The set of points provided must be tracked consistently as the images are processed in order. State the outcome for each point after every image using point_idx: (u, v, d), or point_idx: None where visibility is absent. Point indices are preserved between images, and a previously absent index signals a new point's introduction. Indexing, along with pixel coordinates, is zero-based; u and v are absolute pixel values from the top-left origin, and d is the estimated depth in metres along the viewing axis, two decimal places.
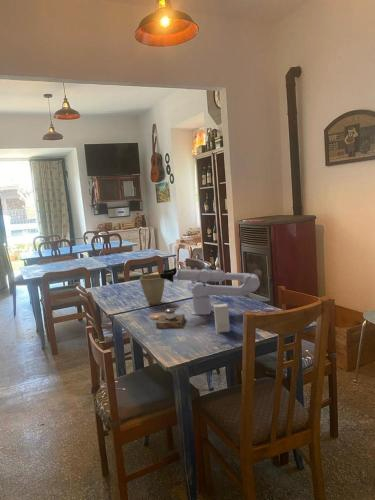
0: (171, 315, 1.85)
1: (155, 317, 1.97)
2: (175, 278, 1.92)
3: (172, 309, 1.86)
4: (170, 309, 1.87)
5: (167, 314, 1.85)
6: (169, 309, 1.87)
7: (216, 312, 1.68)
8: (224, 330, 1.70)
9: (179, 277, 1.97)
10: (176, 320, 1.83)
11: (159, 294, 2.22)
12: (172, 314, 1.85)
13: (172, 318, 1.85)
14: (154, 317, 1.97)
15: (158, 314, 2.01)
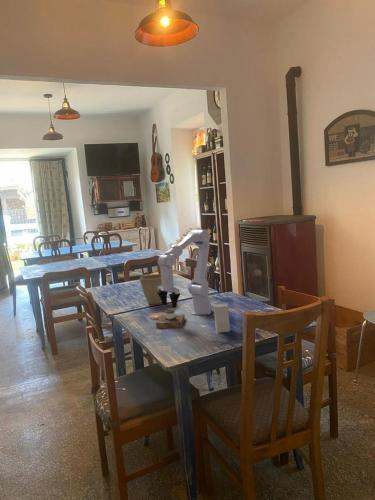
0: (171, 315, 1.85)
1: (155, 317, 1.97)
2: (178, 291, 1.80)
3: (172, 309, 1.86)
4: (170, 309, 1.87)
5: (167, 314, 1.85)
6: (169, 309, 1.87)
7: (216, 312, 1.68)
8: (224, 330, 1.70)
9: (172, 287, 1.83)
10: (176, 320, 1.83)
11: None
12: (172, 314, 1.85)
13: (172, 318, 1.85)
14: (154, 317, 1.97)
15: (158, 314, 2.01)
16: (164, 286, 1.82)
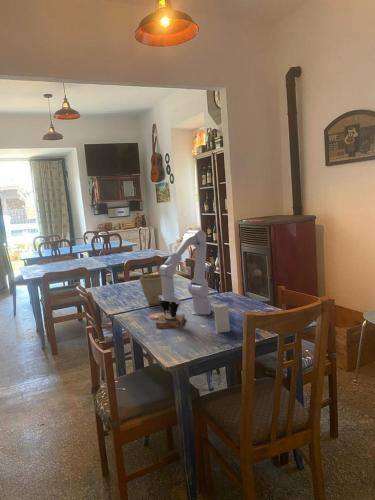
0: None
1: (155, 317, 1.97)
2: (179, 301, 1.80)
3: None
4: None
5: (167, 314, 1.85)
6: (169, 309, 1.87)
7: (216, 312, 1.68)
8: (224, 330, 1.70)
9: (173, 296, 1.84)
10: (176, 320, 1.83)
11: (159, 294, 2.22)
12: None
13: (172, 318, 1.85)
14: (154, 317, 1.97)
15: (158, 314, 2.01)
16: (165, 296, 1.83)
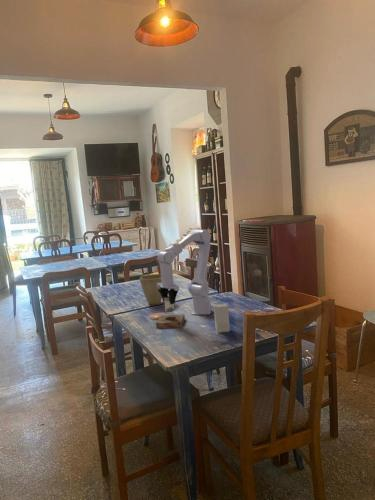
0: None
1: (155, 317, 1.97)
2: (178, 287, 1.80)
3: None
4: None
5: (166, 301, 1.84)
6: (168, 296, 1.86)
7: (216, 312, 1.68)
8: (224, 330, 1.70)
9: (172, 283, 1.83)
10: (176, 320, 1.83)
11: (159, 294, 2.22)
12: None
13: (171, 305, 1.84)
14: (154, 317, 1.97)
15: (158, 314, 2.01)
16: (164, 283, 1.82)
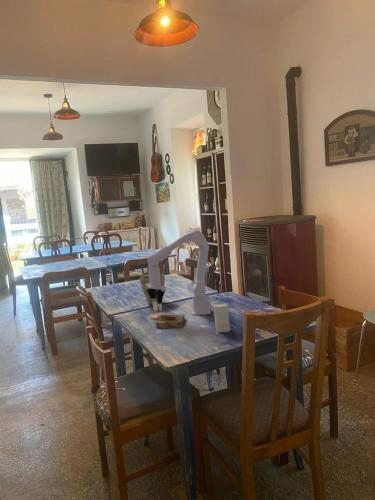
0: (157, 302, 1.96)
1: (155, 317, 1.97)
2: (164, 288, 1.92)
3: None
4: (156, 297, 1.98)
5: (154, 302, 1.96)
6: (155, 297, 1.98)
7: (216, 312, 1.68)
8: (224, 330, 1.70)
9: (159, 284, 1.95)
10: (176, 320, 1.83)
11: None
12: None
13: (159, 305, 1.96)
14: (154, 317, 1.97)
15: (158, 314, 2.01)
16: (151, 284, 1.94)
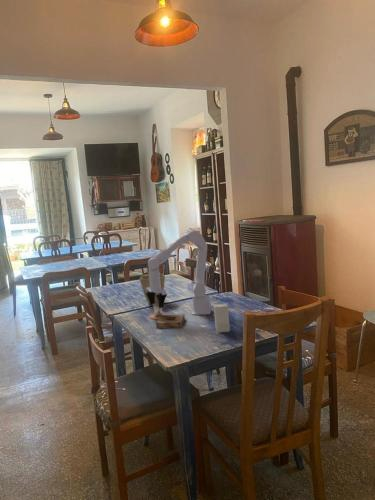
0: (158, 308, 1.96)
1: (155, 317, 1.97)
2: (164, 292, 1.92)
3: None
4: (158, 302, 1.98)
5: (155, 307, 1.96)
6: (157, 302, 1.98)
7: (216, 312, 1.68)
8: (224, 330, 1.70)
9: (159, 288, 1.96)
10: (176, 320, 1.83)
11: None
12: (159, 307, 1.96)
13: (159, 311, 1.96)
14: (154, 317, 1.97)
15: None
16: (152, 287, 1.95)
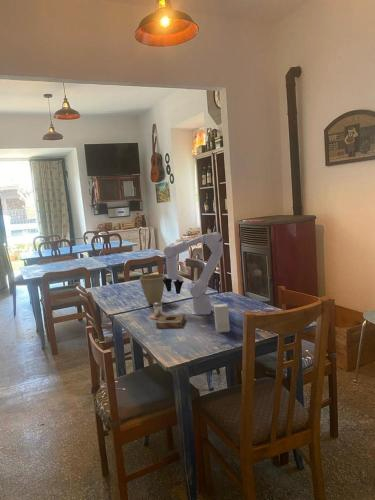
0: (158, 308, 1.96)
1: (155, 317, 1.97)
2: (182, 278, 1.99)
3: (159, 302, 1.98)
4: (158, 302, 1.98)
5: (155, 307, 1.96)
6: (157, 302, 1.98)
7: (216, 312, 1.68)
8: (224, 330, 1.70)
9: (176, 275, 2.03)
10: (176, 320, 1.83)
11: (159, 294, 2.22)
12: (159, 307, 1.96)
13: (159, 311, 1.96)
14: (154, 317, 1.97)
15: None
16: (169, 274, 2.02)
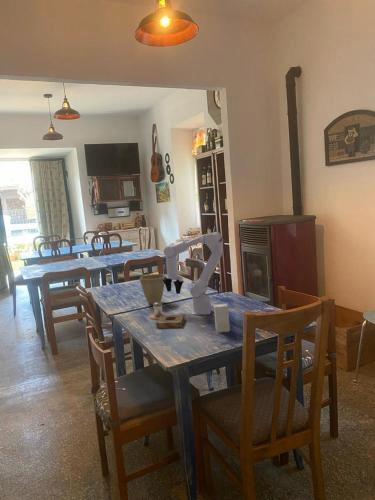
0: (158, 308, 1.96)
1: (155, 317, 1.97)
2: (182, 278, 1.99)
3: (159, 302, 1.98)
4: (158, 302, 1.98)
5: (155, 307, 1.96)
6: (157, 302, 1.98)
7: (216, 312, 1.68)
8: (224, 330, 1.70)
9: (176, 275, 2.03)
10: (176, 320, 1.83)
11: (159, 294, 2.22)
12: (159, 307, 1.96)
13: (159, 311, 1.96)
14: (154, 317, 1.97)
15: None
16: (169, 274, 2.02)
